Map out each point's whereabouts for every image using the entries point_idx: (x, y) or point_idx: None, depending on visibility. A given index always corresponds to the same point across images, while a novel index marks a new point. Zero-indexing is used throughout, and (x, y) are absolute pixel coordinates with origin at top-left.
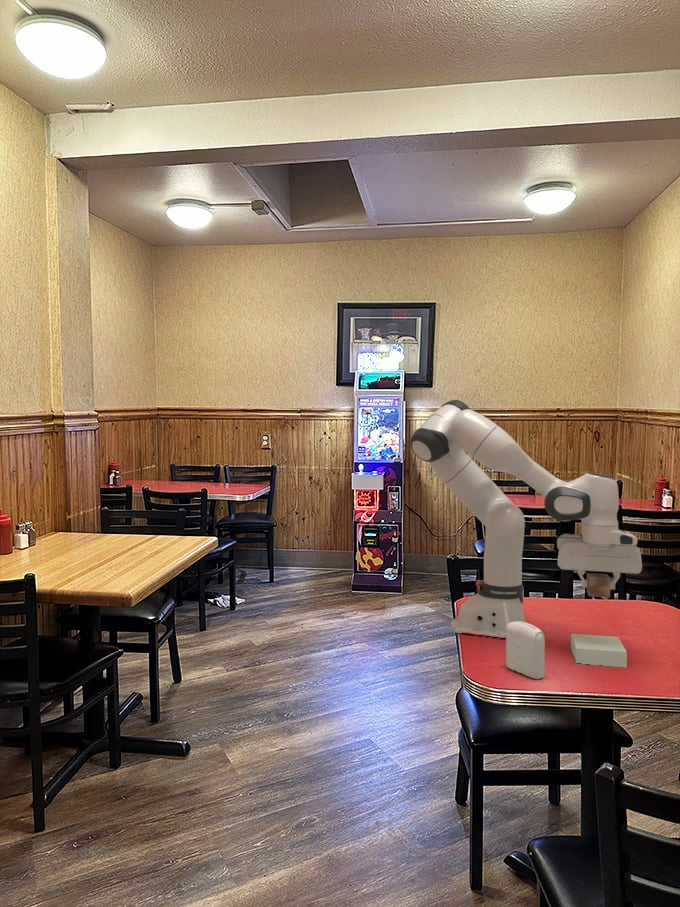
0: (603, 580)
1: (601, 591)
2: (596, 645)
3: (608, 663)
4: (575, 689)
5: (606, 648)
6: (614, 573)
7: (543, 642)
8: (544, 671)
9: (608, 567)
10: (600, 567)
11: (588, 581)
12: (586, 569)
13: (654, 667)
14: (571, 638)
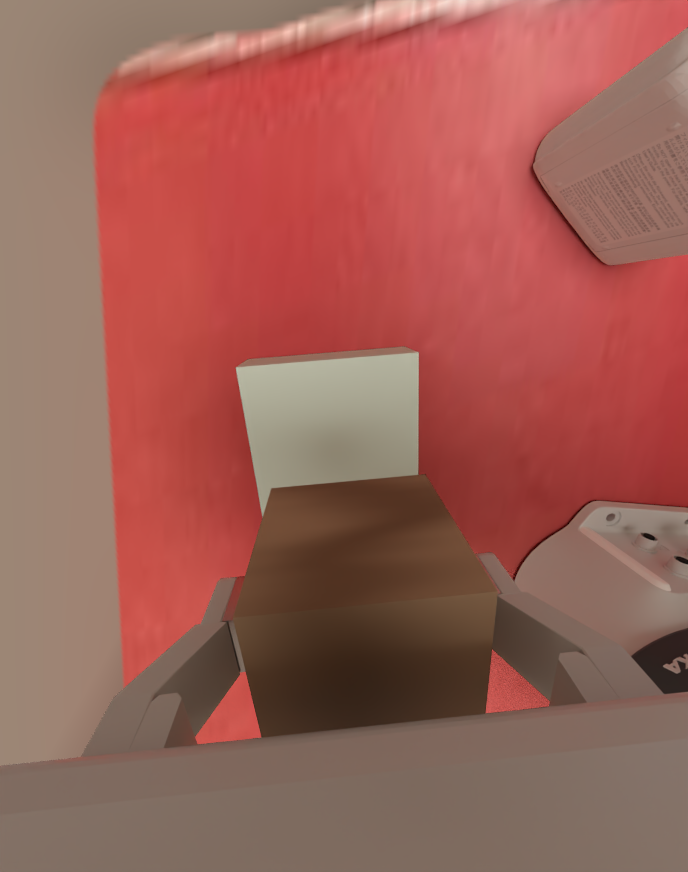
0: (321, 583)
1: (337, 506)
2: (342, 409)
3: (304, 355)
4: (436, 53)
5: (308, 385)
6: (165, 738)
7: (646, 87)
8: (542, 156)
9: (223, 840)
10: (379, 808)
11: None
12: (596, 719)
13: (162, 389)
14: None
